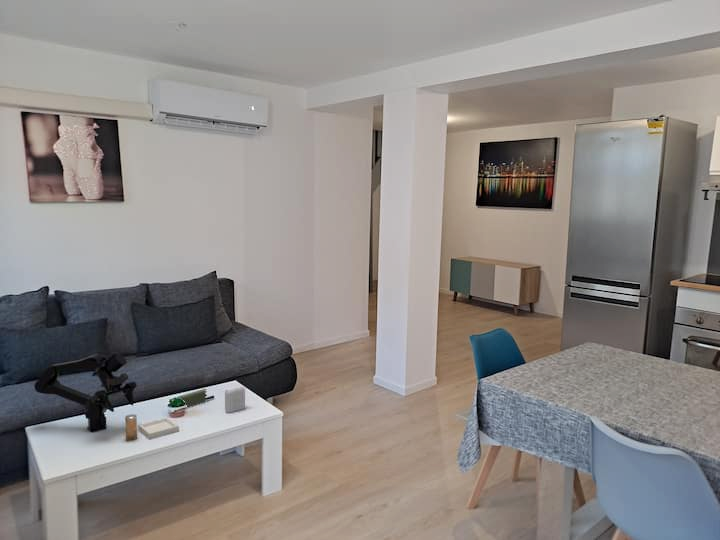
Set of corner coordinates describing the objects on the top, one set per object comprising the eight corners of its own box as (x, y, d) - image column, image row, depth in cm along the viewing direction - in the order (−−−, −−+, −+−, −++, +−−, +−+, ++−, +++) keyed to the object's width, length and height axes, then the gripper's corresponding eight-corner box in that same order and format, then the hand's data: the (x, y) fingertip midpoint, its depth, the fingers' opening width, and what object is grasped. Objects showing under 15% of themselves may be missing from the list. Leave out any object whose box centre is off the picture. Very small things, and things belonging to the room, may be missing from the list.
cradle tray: (149, 439, 227) (149, 433, 226) (138, 429, 236) (138, 424, 236) (178, 431, 235) (178, 425, 235) (167, 422, 245) (166, 417, 245)
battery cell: (128, 441, 224) (127, 419, 223) (124, 438, 227) (123, 416, 226) (138, 439, 227) (138, 416, 226) (135, 435, 230) (134, 413, 229)
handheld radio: (168, 411, 258) (211, 398, 278) (172, 413, 256) (215, 399, 276) (168, 398, 257) (211, 385, 277) (172, 400, 255) (215, 387, 275)
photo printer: (241, 406, 266) (241, 382, 265) (246, 408, 263) (246, 384, 262) (223, 411, 259) (223, 387, 258) (228, 414, 256) (227, 389, 255)
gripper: (94, 373, 222) (110, 404, 217) (133, 363, 237) (150, 392, 233) (84, 388, 227) (100, 418, 222) (123, 377, 243) (139, 405, 238)
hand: (123, 408), depth 229 cm, fingers open, 9 cm apart
